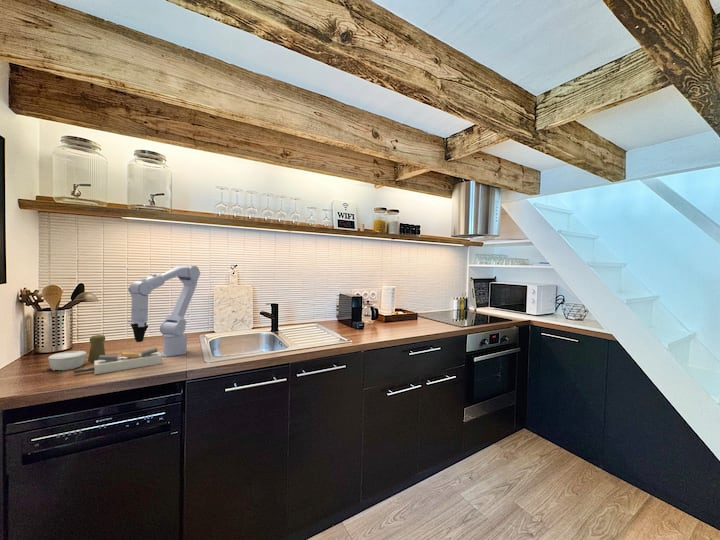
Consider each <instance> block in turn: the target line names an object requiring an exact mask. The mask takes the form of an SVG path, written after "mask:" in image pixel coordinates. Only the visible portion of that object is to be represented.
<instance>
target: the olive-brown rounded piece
mask: <svg viewBox="0 0 720 540" xmlns="http://www.w3.org/2000/svg"><path fill="white" fill-rule="evenodd" d="M105 341H106V336H105V335H103V334H96V335H92V336H90V337H89V343H90V347H89V352H88V359H87V362H88V363H94V361H96V360H99V356H100V355H106V350H105V343H104V342H105Z"/></svg>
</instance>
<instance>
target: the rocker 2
mask: <svg viewBox="0 0 720 540" xmlns="http://www.w3.org/2000/svg"><path fill="white" fill-rule="evenodd" d="M156 352H159V351H158V348H157V347H154V348H150V349H147V350H143V351H141V352H140V354H141V355H142V357H143V356H146V355H149V354H152V353H156Z"/></svg>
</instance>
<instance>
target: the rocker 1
mask: <svg viewBox="0 0 720 540" xmlns="http://www.w3.org/2000/svg"><path fill="white" fill-rule="evenodd" d="M117 358H118V355H113V354H112V355H111V354H109V355H108V354H105V355H100V356H99V360H117Z"/></svg>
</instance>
